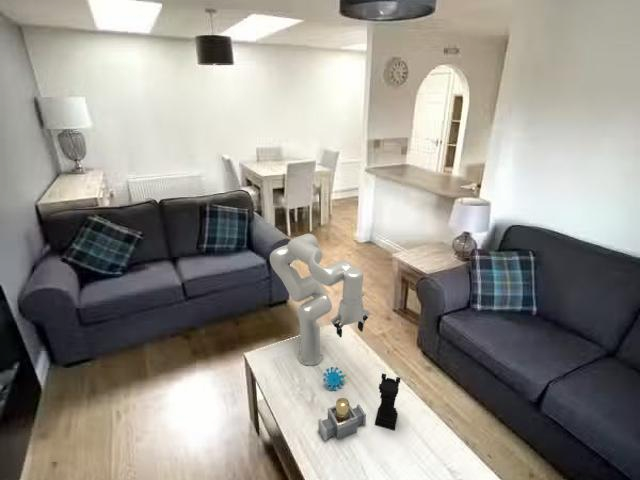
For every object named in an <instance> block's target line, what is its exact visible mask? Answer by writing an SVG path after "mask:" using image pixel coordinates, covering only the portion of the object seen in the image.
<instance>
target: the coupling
mask: <svg viewBox="0 0 640 480" xmlns="http://www.w3.org/2000/svg"><path fill="white" fill-rule="evenodd" d="M335 405H336V418H337V420H339V421H341V422H343V421H346V420H348V418H349V405H350V401H349V399H347V397H346V398H345V397H340V398H338V399H336V402H335Z"/></svg>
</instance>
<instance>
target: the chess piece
mask: <svg viewBox="0 0 640 480" xmlns="http://www.w3.org/2000/svg"><path fill="white" fill-rule="evenodd" d="M380 379H381V382H380V383H379V384H378V390H379V393H380V396H379V397H380V404H379V406H378V408H377V412H376V416H375V420H374V426H376V427H379V428H380V427H381V428H384V429H387V430H391V431H396V427H397V426H396V425H397V421H398V414H399V413H398V410H397V408H396V407H395V405H396V403H395V402H396V399H397V397H398V394H399V390H400V388H399V384H400V383H401V377H400V376H396V379H394V378H391V377H387V374H386V373H381V378H380Z"/></svg>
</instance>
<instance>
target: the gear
mask: <svg viewBox="0 0 640 480" xmlns="http://www.w3.org/2000/svg"><path fill="white" fill-rule="evenodd" d="M338 370H339V367H337V366H336V367H334V366H330V368H326V370H325V371H326V372H324V373H323V376H324V377H326V378H323V379H322V381H323V382H328V383H325V384H324V387H326V388H327V387H328V386H329V385H331V386H329V387H328V390H330V391H332V390H333V391H337V390H338V389H341V388H342V385H343V384H344V383H345V381H344V379H345V377H347V374H346V373H345V374H343V375H340V374H342V373H343V370H339V371H338ZM337 371H338V372H337ZM337 385H338V386H337Z"/></svg>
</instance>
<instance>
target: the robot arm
mask: <svg viewBox="0 0 640 480" xmlns="http://www.w3.org/2000/svg"><path fill="white" fill-rule="evenodd" d="M322 259H323V252H322V249H320V248H319V242H318V238H317V237H316V236H315V235H313V234H312V233H305V234H302V235H298V236H296V237H293V238H292V239H290V240H289V241H288V243H287V244H285V245H282V246H280V247H277V248H276V249H273V250H272V252H271V253H270V254H269V262H270V265H271V268H272V269H273V271H274V272H275V274H277V277H279V278H280V280H281V281H282V283H283V285H284V287H285V289H286V290H287V292H288V294H289V296H290V298H291V299H292V301H294V302H296V303H300V302H302V301H304V300H306V299H309V298H310V297H312V298H311V299H309V300H307V301H304V303H302V304H300V305H299V306H298V308H297V311H296V314H297V318H298V323H299V335H300V336H299V341H300V349H299V352H298V353H297V360H298V361H299V363H300V364H302V365H304V366H311V367H312V366H316V365H318V364H320V363H321V362H322V361H323V359H324V353H323V351H322V350H321V327H320V324H319V323H318V322H317V321H318V319H319V320H320V319H321V318H322V317H324V316H326V315H327V314H329V313H330V312H331V311H332V307H333V305H332V301H331V299H330V298H329V295H328V294H327V292H326V290H325V289H324V287H323V286H326V287H331V286H332V287H333V286H335V285H337V284H338V283H341V282H342V298H341V299H340V301H339V305H338V308H337V315H336V316H334V317H333V318H332V319H331V320H330V322H331V324H332V325H333V326H334V328H336V335H337V336H338V337H339V338H342V336H343V329H342V328H343V327H344V326H346V325H351V324H354V323H357V329H358V330H359V332H361V333H362V332H363V330H364V325H365V323H366V321H367V319H368V318H369V316H370V315H371V312H370V310H366V309H365V308H364V301H363V297H365V293H364V292H363V281H364V272H363V271H362V270H361V269H359V268H356V267H354V266H353V265H352V264H351V263H350V262H349V261H347V260H340V261H337V262H335V263H332V264H330V265H328V266H326V267H324V266H322V265H320V263H321V261H322ZM297 260H299V261H300V262H303V263H304V264H306V265H307V268H308V271H309V274H310V275H306V276H304V277H301V275H300V273H299V272H298V270H297V269H296V268H294V267H293V266H292V265H289V264H290V263H292V262H294V261H297Z"/></svg>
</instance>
